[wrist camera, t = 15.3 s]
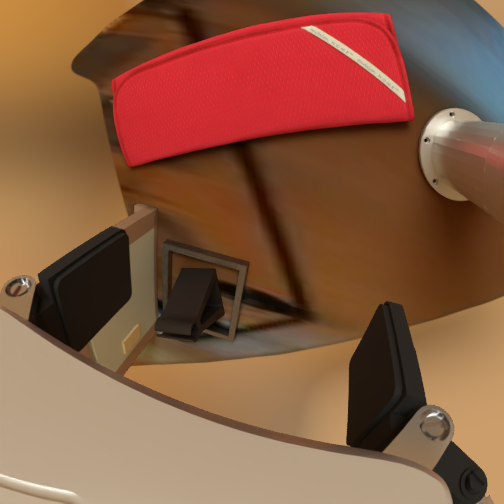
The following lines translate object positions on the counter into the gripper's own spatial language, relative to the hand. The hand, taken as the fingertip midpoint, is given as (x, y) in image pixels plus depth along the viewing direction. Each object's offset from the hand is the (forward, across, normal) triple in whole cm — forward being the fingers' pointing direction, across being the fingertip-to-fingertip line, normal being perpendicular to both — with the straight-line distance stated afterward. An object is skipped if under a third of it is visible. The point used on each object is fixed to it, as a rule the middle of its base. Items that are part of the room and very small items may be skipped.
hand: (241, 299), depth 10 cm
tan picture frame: (+30, +22, +24) cm, 44 cm away
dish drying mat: (+31, +10, -10) cm, 34 cm away
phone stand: (+31, +12, +24) cm, 41 cm away
